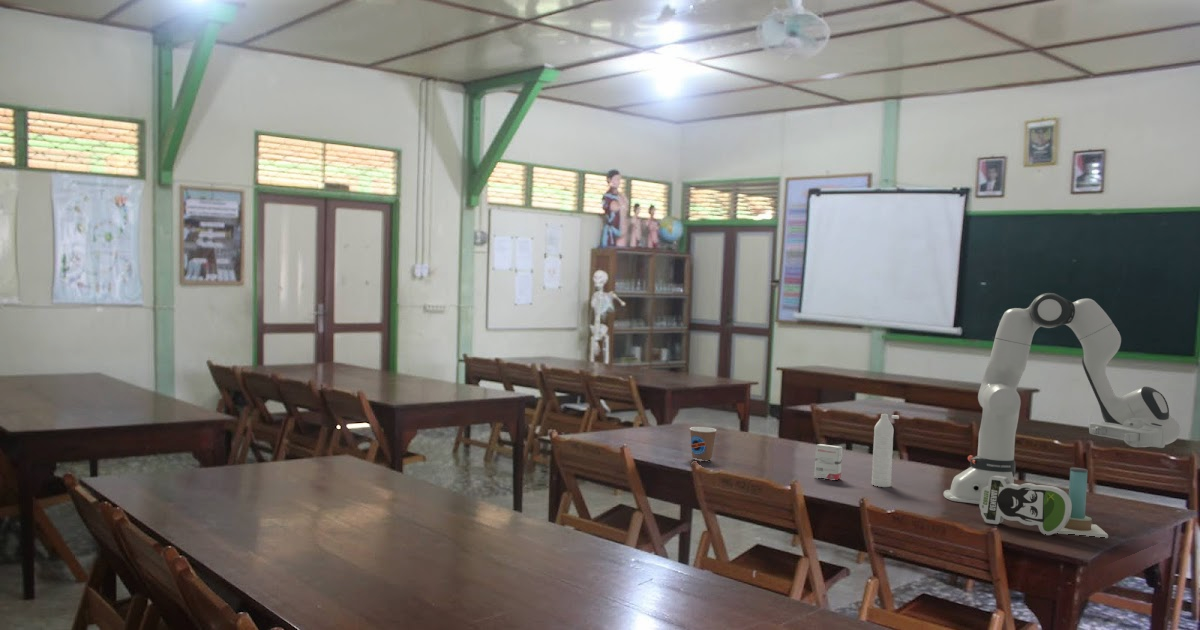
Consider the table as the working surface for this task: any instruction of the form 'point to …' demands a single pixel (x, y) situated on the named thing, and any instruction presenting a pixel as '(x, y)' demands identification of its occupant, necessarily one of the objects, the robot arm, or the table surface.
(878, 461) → the water bottle
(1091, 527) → the display stand
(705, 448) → the coffee cup
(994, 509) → the cutout
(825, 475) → the ink box
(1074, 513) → the tube
